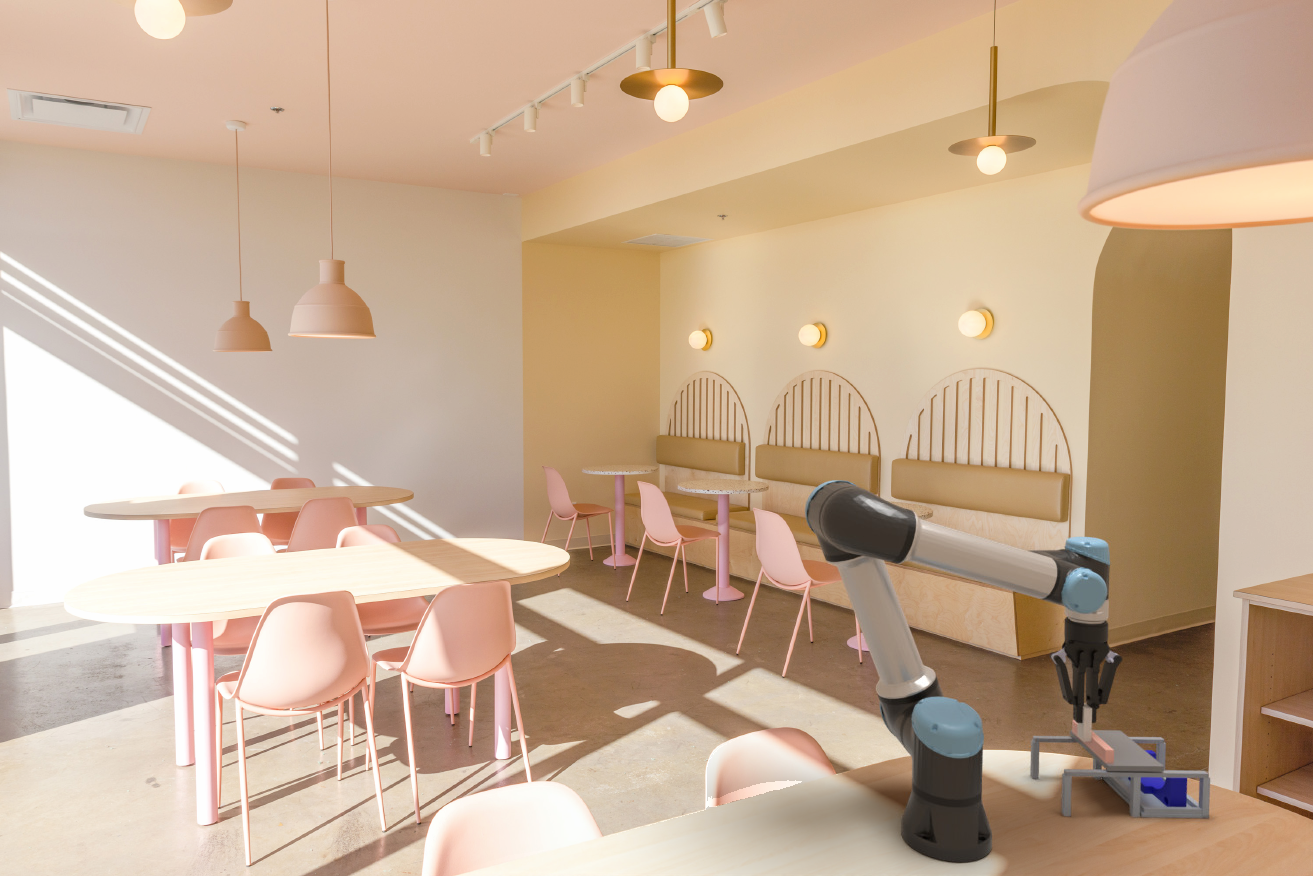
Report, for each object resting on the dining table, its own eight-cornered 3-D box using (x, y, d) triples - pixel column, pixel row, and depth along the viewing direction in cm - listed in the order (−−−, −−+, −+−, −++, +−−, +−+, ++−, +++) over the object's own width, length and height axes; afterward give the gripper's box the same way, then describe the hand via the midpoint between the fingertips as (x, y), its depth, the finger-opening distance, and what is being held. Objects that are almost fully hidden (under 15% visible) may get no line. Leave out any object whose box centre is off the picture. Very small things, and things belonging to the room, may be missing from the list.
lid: (1107, 770, 156) (1108, 752, 156) (1069, 734, 172) (1070, 717, 172) (1163, 771, 156) (1164, 753, 155) (1120, 735, 171) (1120, 718, 171)
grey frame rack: (1064, 816, 157) (1065, 772, 156) (1030, 775, 173) (1031, 735, 172) (1208, 818, 156) (1210, 773, 155) (1161, 777, 172) (1162, 737, 171)
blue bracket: (1128, 779, 170) (1128, 750, 169) (1151, 779, 170) (1151, 750, 169) (1161, 809, 158) (1162, 778, 157) (1186, 809, 158) (1187, 778, 157)
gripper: (1059, 624, 159) (1058, 746, 160) (1131, 624, 158) (1128, 747, 160) (1043, 613, 166) (1042, 730, 168) (1111, 613, 166) (1109, 730, 167)
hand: (1084, 738), depth 164 cm, fingers closed
